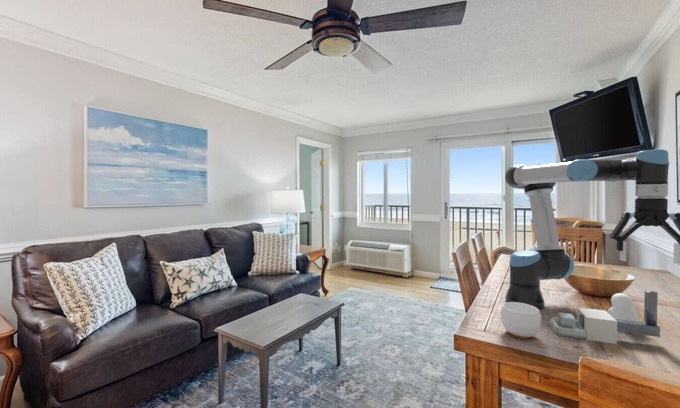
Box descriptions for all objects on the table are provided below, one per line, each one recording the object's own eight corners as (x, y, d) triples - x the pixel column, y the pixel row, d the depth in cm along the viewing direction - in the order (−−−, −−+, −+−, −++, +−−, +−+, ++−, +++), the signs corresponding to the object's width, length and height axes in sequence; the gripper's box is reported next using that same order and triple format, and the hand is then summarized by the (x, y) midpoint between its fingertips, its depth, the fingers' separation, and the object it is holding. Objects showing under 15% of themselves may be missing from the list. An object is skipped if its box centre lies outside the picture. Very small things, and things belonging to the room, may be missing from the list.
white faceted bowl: (498, 325, 116) (498, 299, 116) (536, 330, 112) (536, 303, 112) (502, 339, 105) (502, 311, 105) (545, 345, 100) (545, 316, 100)
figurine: (623, 322, 118) (623, 291, 118) (643, 330, 110) (643, 297, 110) (605, 322, 118) (605, 291, 118) (624, 331, 110) (624, 298, 110)
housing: (586, 339, 104) (586, 317, 104) (577, 327, 113) (577, 307, 113) (616, 344, 101) (617, 321, 101) (604, 331, 110) (605, 310, 110)
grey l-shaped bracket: (581, 326, 107) (582, 286, 107) (578, 323, 110) (579, 284, 110) (659, 337, 99) (660, 293, 99) (654, 332, 102) (655, 291, 102)
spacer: (575, 333, 107) (561, 331, 109) (570, 327, 112) (557, 325, 114) (575, 318, 107) (561, 317, 109) (571, 313, 112) (557, 312, 113)
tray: (556, 335, 107) (556, 327, 107) (550, 324, 117) (550, 317, 117) (585, 339, 104) (586, 331, 104) (576, 327, 113) (576, 320, 113)
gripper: (607, 197, 102) (606, 261, 103) (712, 197, 92) (710, 267, 93) (598, 197, 109) (597, 257, 110) (696, 197, 99) (694, 262, 100)
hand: (649, 262), depth 101 cm, fingers open, 13 cm apart
